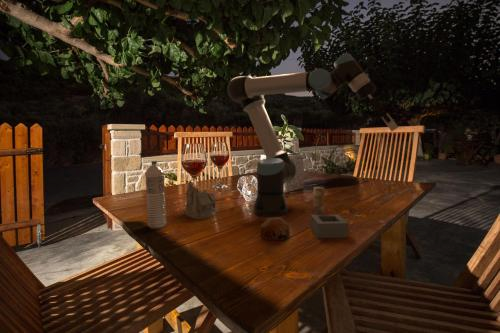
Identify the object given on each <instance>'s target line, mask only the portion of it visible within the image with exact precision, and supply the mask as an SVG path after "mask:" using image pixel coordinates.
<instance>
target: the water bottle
mask: <svg viewBox="0 0 500 333" xmlns="http://www.w3.org/2000/svg"><path fill="white" fill-rule="evenodd" d="M157 164H158V163H157V160H154V161H153V160H152V161H151V166H149V167H148V168H147V170H145V172H144V174H145V175H144V177H145V191H146V195H145V196H146V197H145V198H146V210H147V212H146V214H147V226H148V228H149V229H153V230H154V229H163V228H164V227H165V226H167V207H166V206H167V203H166V190H165V188H166V187H165V171H164V170H163V168H162V167H161V166H158V165H157Z"/></svg>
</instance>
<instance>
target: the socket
mask: <svg viewBox="0 0 500 333" xmlns="http://www.w3.org/2000/svg"><path fill="white" fill-rule="evenodd" d="M310 230H312V231H313V234H314V235H315V236H316V238H317V239H333V238H334V239H335V238H337V239H340V238H341V239H342V238H345V239H346V238H348V236H349V232H348V231H349V223H348V222H347V221H346V220H345V219H344V218H343V217H342V216H340V215H339V214H334V213H333V214H324V215H313V214H311V215H310Z"/></svg>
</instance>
